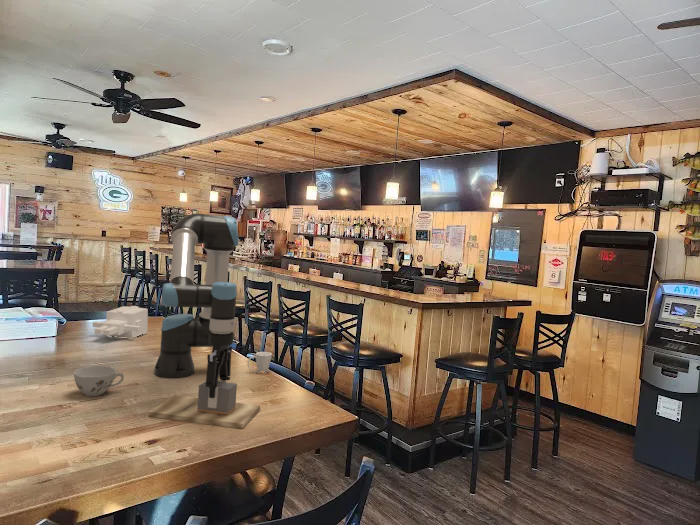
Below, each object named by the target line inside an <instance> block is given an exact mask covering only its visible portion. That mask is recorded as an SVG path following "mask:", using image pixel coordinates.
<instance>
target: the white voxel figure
mask: <svg viewBox="0 0 700 525" xmlns="http://www.w3.org/2000/svg"><path fill="white" fill-rule="evenodd" d="M148 310H149V309H148V308H144V307H139V305H138V306H137V305H131V306H125V305H124V306H120V307H118V308H114V309H111V310H108V311H106V321H98V320H97V321H93V322H92V327H93V328H94V335H102V334H103V335H104V336H107V335H109V336H117V337H127V338H133V337H136V336H139V335H141V336H143V335H145V334H147V333H148V318H149V317H148V316H149V313H148V312H149V311H148ZM142 334H143V335H142ZM139 337H140V336H139ZM136 338H137V337H136Z"/></svg>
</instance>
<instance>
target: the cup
mask: <svg viewBox="0 0 700 525" xmlns="http://www.w3.org/2000/svg"><path fill="white" fill-rule="evenodd" d="M272 355H273V353H272V352H269V351H258V352H256V353H255V355H252V356H250V357H249V358H248V360H247V367H248V368H249V370H251V371H252V372H253V373H256V374H259V373H262V372H260V371H265V372H264V373H266V374H268V373H267V372H268V370H269V369H270V364H271V359H272ZM252 358H254V359H255V365H256V369H257V371H255V370H253V369H252V368H251V367H250V366H249V364H250V360H251V359H252Z"/></svg>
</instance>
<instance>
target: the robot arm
mask: <svg viewBox="0 0 700 525" xmlns="http://www.w3.org/2000/svg"><path fill="white" fill-rule="evenodd" d="M238 229H239V228H238V222H237V220H236V218H235V217H233V216H228V215H222V214H220V215H219V214H206V213H204V214H203V213H198V212H197V213H196V212H195V213H192V214H188V215H186V216H184V217H182V218H181V219H180V220H178V221H177V222H176V224H174V226H173V228H172V230H171V233H170V234H171V235H170V241H171V244H172V254H171V255H172V257H171V264H170V266H171V267H170V277H169V283H168V282H167V283H163V285H162V293H161V304H162V306H164V307H169V308H170V307H171V308H172V307H173V308H203V310H202V311H201V312H200V313H198V317H197V318H195V316H194V315H193V314H192V313H179V314H172V315H169V316H166V317H164V319H163V320H162V321H161V322H162V323H161V329H160V330H161V336H160V349H159V350H160V351H159V356H158V359H157V361H156V363H155V366H154V372H153V374H154V375H155V376H156V377H160V378H167V379H168V378H169V379H174V378H175V379H177V378H185V377H189V376H192V375H193V374H195V363H194V361H193V360H194V359H193V356H192V348H212V350H211V354H209V353H208V354H207V358H206V359H207V367H206V375H205V377H206V378H205V381H206V387H209V395H208V407H209V408H217V400H218V387H217V383H218V381H219V382H227V383H228V381H230V380H231V377H230V376H231V369H232V368H231V366H232V365H231V364H232V350H233V346H231V345H232V344H234V338H235V337H234V336H235V335H234V334H235V333H234V332H233V331H234V330H235V326H236V325H237V323H236V322H235V317H236V304H237V296H238V293H237V292H238V291H237V284H236V283H234V282H232V281H231V282H230V281H229V264H230V263H229V262H230V254H232V253H233V252H234V248H235V247H238V246H239V230H238ZM197 244H202V245H203V249H204V251H205V252H206V253H207V256H206V268H205V283H204V284H195V275H194V274H195V252H196V249H195V247H196V246H197Z"/></svg>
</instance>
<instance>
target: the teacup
mask: <svg viewBox="0 0 700 525" xmlns="http://www.w3.org/2000/svg"><path fill="white" fill-rule="evenodd" d="M124 376H125V375H124V373H123V372H120V371H119V372H117V370H116V368H114V367H111V366H108V365H107V366H106V365H90V366H84V367H82V368H77V369H75V370H74V371H73V377H74V383H75V385H76V387H77V388H78V390H79V391H80V392H81V393H82V394H83V395H84V396H86V397H99V396H102V395H103V394H104V393H105V392H107V390H109V388H111V387H115V386H119V385H120V384H121V383H122V382H123V381H124V380H125V379H124V378H125V377H124ZM117 377H120V378H121V379H120V380H119V381H117V382H116V383H114V381H115V379H116V378H117Z"/></svg>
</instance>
